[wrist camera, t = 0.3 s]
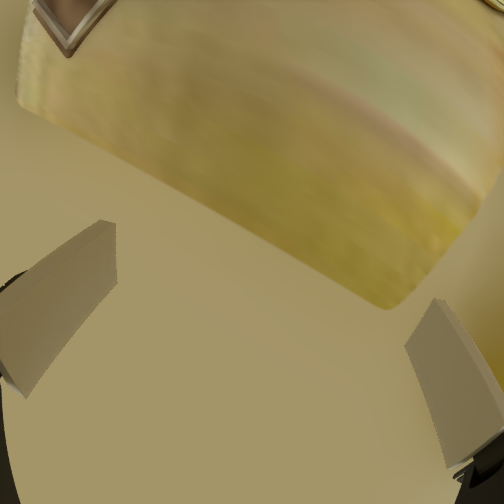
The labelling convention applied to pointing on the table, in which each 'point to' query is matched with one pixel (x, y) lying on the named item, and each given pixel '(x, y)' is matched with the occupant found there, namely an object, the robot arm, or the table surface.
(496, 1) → the decorated donut
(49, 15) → the brown flat tray
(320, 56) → the table surface
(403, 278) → the table surface
